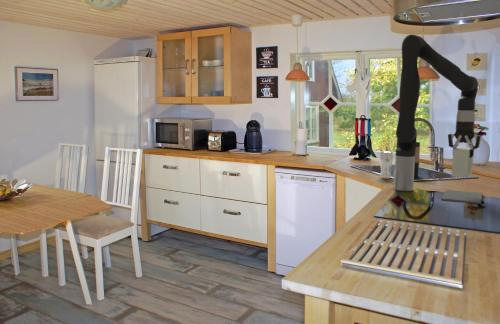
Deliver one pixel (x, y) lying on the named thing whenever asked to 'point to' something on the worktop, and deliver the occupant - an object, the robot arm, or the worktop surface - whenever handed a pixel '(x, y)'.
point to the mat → (462, 196)
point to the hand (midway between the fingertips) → (462, 156)
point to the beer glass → (386, 164)
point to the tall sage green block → (462, 162)
